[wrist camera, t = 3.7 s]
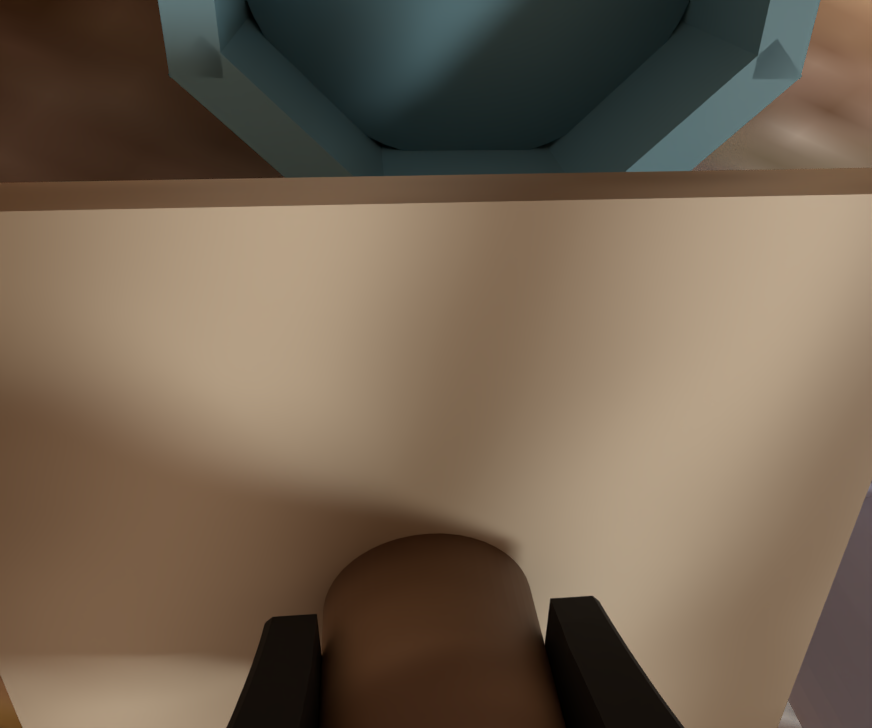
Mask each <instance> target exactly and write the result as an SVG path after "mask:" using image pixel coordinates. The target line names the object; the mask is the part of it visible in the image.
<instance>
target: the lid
mask: <svg viewBox="0 0 872 728" xmlns="http://www.w3.org/2000/svg"><path fill="white" fill-rule="evenodd" d="M871 481H872V168H832V169H773V170H714V171H655V172H597V173H538V174H479V175H420V176H361V177H303V178H244V179H185V180H126V181H67V182H9V183H0V675H1V677H2V680H3V682H4V685H5V687H6V689H7V692H8V694H9V697H10V699H11V701H12V704H13V706H14V708H15V711H16V713H17V716H18V718H19V720H20V723H21V725H22V727H23V728H226V727H227V725H228V723H229V721H230V718H231V716H232V714H233V711H234V709H235V706H236V704H237V701H238V699H239V696H240V694H241V692H242V689H243V687H244V684H245V681H246V679H247V676H248V674H249V671H250V668H251V665H252V663H253V660H254V657H255V654H256V651H257V648H258V645H259V642H260V638H261V635H262V631H263V628H264V624H265V622H267V621H268V620H269V619H270V618H271V617H276V616H291V615H306V614H317V619H318V628H319V637H320V646H321V654H322V664H321V687H320V710H319V728H566V725H565V721H564V717H563V713H562V709H561V706H560V702H559V698H558V694H557V690H556V686H555V682H554V678H553V675H552V671H551V667H550V663H549V659H548V655H547V651H546V648H545V637H546V629H547V621H548V612H549V604H550V598H565V597H580V596H594V597H595V598H596V599H597V600H599V601H600V603H601V605H602V607H603V608H604V610H605V612H606V613H607V615H608V617H609V618H610V620H611V621H612V623H613V625H614V626H615V628H616V629H617V631H618V633H619V634H620V636H621V637H622V639H623V640H624V642H625V644H626V645H627V647H628V648H629V650H630V651H631V653H632V654H633V656H634V657H635V659H636V660H637V662H638V663H639V665H640V666H641V668H642V669H643V671H644V672H645V673H646V675H647V676H648V678H649V679H650V681H651V682H652V684H653V685H654V687H655V688H656V689H657V691H658V692H659V694H660V695H661V696H662V698H663V699H664V701H665V702H666V703H667V705H668V706H669V708H670V709H671V710H672V712H673V713H674V714H675V716H676V717H677V718H678V720H679V721H680V722H681V724H682V725H683V726H684V728H778V725H779V723H780V720H781V717H782V715H783V712H784V709H785V707H786V704H787V702H788V699H789V696H790V694H791V691H792V688H793V686H794V683H795V681H796V678H797V675H798V673H799V670H800V667H801V665H802V662H803V660H804V657H805V654H806V652H807V649H808V646H809V644H810V641H811V639H812V636H813V633H814V631H815V628H816V625H817V623H818V620H819V618H820V615H821V612H822V610H823V607H824V604H825V602H826V599H827V597H828V594H829V591H830V589H831V586H832V583H833V581H834V578H835V576H836V573H837V570H838V568H839V565H840V562H841V560H842V557H843V555H844V552H845V549H846V547H847V544H848V541H849V539H850V536H851V534H852V531H853V528H854V526H855V523H856V520H857V518H858V515H859V513H860V510H861V507H862V505H863V502H864V499H865V497H866V494H867V492H868V489H869V486H870V484H871Z"/></svg>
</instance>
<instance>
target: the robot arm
mask: <svg viewBox="0 0 872 728" xmlns="http://www.w3.org/2000/svg"><path fill="white" fill-rule="evenodd" d="M545 648H546V651H547V655H548V659H549V663H550V667H551V671H552V675H553V678H554V682H555V686H556V690H557V694H558V698H559V702H560V706H561V709H562V713H563V717H564V721H565V725H566V728H684V726H683V725H682V724H681V722H680V721H679V720H678V718H677V717H676V716H675V714H674V713H673V712H672V710H671V709H670V708H669V706H668V705H667V703H666V702H665V701H664V699H663V698H662V696H661V695H660V694H659V692H658V691H657V689H656V688H655V687H654V685H653V684H652V682H651V681H650V679H649V678H648V676H647V675H646V673H645V672H644V671H643V669H642V668H641V666H640V665H639V663H638V662H637V660H636V659H635V657H634V656H633V654H632V653H631V651H630V650H629V648H628V647H627V645H626V644H625V642H624V640H623V639H622V637H621V636H620V634H619V633H618V631H617V629H616V628H615V626H614V625H613V623H612V621H611V620H610V618H609V617H608V615H607V613H606V612H605V610H604V608H603V607H602V605H601V603H600V601H599V600H597V599H596V598H595V597H594V596H580V597H565V598H550V604H549V612H548V621H547V629H546V637H545ZM321 664H322V654H321V646H320V637H319V628H318V619H317V614H306V615H291V616H276V617H271V618H270V619H269V620H268V621H267V622H265V624H264V628H263V631H262V635H261V638H260V642H259V645H258V648H257V651H256V654H255V657H254V660H253V663H252V665H251V668H250V671H249V674H248V676H247V679H246V681H245V684H244V687H243V689H242V692H241V694H240V696H239V699H238V701H237V704H236V706H235V709H234V711H233V714H232V716H231V718H230V721H229V723H228V725H227V727H226V728H319V710H320V687H321ZM788 701H789V703H790V705H791V707H792V709H793V710H794V712H795V714H796V716H797V718H798V720H799V722H800V724H801V726H802V728H872V481H871V484H870V486H869V489H868V492H867V494H866V497H865V499H864V502H863V505H862V507H861V510H860V513H859V515H858V518H857V520H856V523H855V526H854V528H853V531H852V534H851V536H850V539H849V541H848V544H847V547H846V549H845V552H844V555H843V557H842V560H841V562H840V565H839V568H838V570H837V573H836V576H835V578H834V581H833V583H832V586H831V589H830V591H829V594H828V597H827V599H826V602H825V604H824V607H823V610H822V612H821V615H820V618H819V620H818V623H817V625H816V628H815V631H814V633H813V636H812V639H811V641H810V644H809V646H808V649H807V652H806V654H805V657H804V660H803V662H802V665H801V667H800V670H799V673H798V675H797V678H796V681H795V683H794V686H793V688H792V691H791V694H790V696H789V699H788Z"/></svg>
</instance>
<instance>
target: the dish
mask: <svg viewBox="0 0 872 728" xmlns="http://www.w3.org/2000/svg"><path fill="white" fill-rule="evenodd" d="M819 3H820V0H158V4H159V11H160V17H161V24H162V30H163V37H164V43H165V50H166V56H167V63H168V69H169V74H168V75H169V76H170V78H173V79H174V80H175V81H176V82H177V83H178V84H179V85H181V86H182V87H183V88H184V89H185V90H186V91H187V92H188V93H190V94H191V95H192V96H193V97H194V98H195V99H196V100H198V101H199V102H200V103H201V104H202V105H203V106H204V107H205V108H207V109H208V110H209V111H210V112H211V113H212V114H213V115H215V116H216V117H217V118H218V119H219V120H220V121H221V122H222V123H224V124H225V125H226V126H227V127H228V128H229V129H230V130H232V131H233V132H234V133H235V134H236V135H237V136H238V137H239V138H241V139H242V140H243V141H244V142H245V143H246V144H247V145H249V146H250V147H251V148H252V149H253V150H254V151H255V152H256V153H258V154H259V155H260V156H261V157H262V158H263V159H264V160H265V161H267V162H268V163H269V164H270V165H271V166H272V167H273V168H275V169H276V170H277V171H278V172H279V173H280V174H281V175H282V176H284V177H285V178H303V177H361V176H420V175H479V174H538V173H597V172H655V171H691V170H692V169H693V168H694V167H695V166H697V165H698V164H699V163H700V162H701V161H702V160H704V159H705V158H706V157H707V156H708V155H710V154H711V153H712V152H713V151H714V150H715V149H717V148H718V147H719V146H720V145H721V144H723V143H724V142H725V141H726V140H727V139H728V138H730V137H731V136H732V135H733V134H734V133H735V132H737V131H738V130H739V129H740V128H741V127H743V126H744V125H745V124H746V123H747V122H748V121H750V120H751V119H752V118H753V117H754V116H756V115H757V114H758V113H759V112H760V111H761V110H763V109H764V108H765V107H766V106H767V105H768V104H770V103H771V102H772V101H773V100H774V99H776V98H777V97H778V96H779V95H780V94H781V93H783V92H784V91H785V90H786V89H787V88H789V87H790V86H791V85H792V84H793V83H794V82H796V81H797V80H798V79H800V77H801V76H802V75H801V73H802V69H803V65H804V61H805V58H806V54H807V50H808V46H809V42H810V38H811V34H812V30H813V26H814V22H815V19H816V15H817V11H818V7H819ZM251 12H252V13H251Z"/></svg>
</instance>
